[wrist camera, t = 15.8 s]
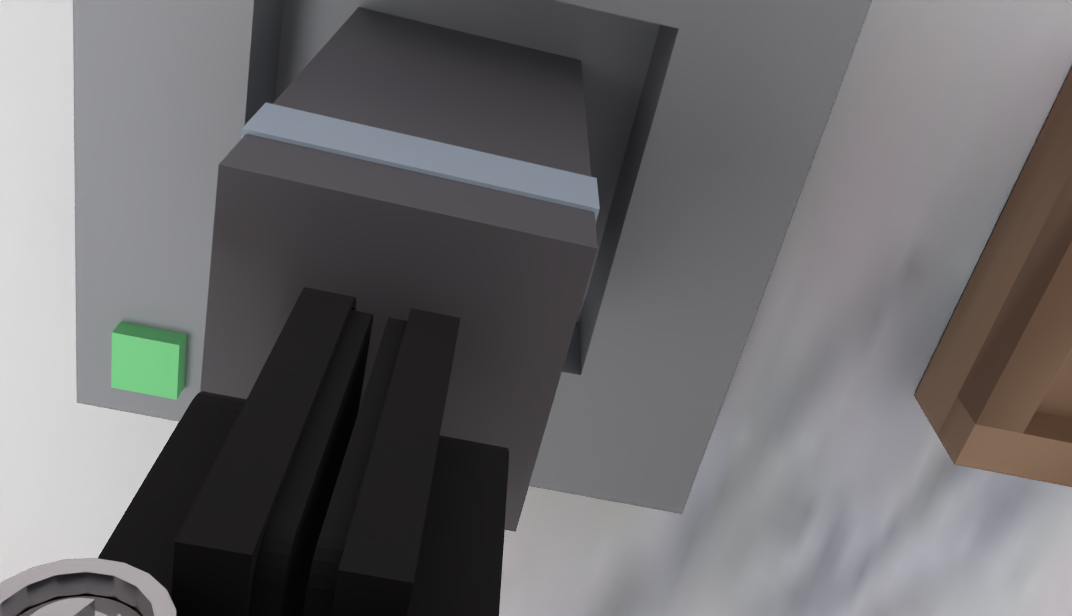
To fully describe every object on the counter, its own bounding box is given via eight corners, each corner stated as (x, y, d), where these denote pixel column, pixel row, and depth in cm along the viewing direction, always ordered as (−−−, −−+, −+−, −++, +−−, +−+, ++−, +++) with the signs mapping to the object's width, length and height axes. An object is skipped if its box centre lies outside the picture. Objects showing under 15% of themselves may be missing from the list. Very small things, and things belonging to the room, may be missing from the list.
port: (859, -135, 17) (925, -117, 14) (667, 427, 22) (683, 527, 19) (152, -309, 16) (56, -330, 13) (136, 325, 21) (67, 414, 18)
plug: (584, 57, 17) (604, 244, 10) (531, 260, 19) (519, 534, 12) (356, 3, 17) (214, 158, 10) (325, 215, 19) (189, 471, 12)
